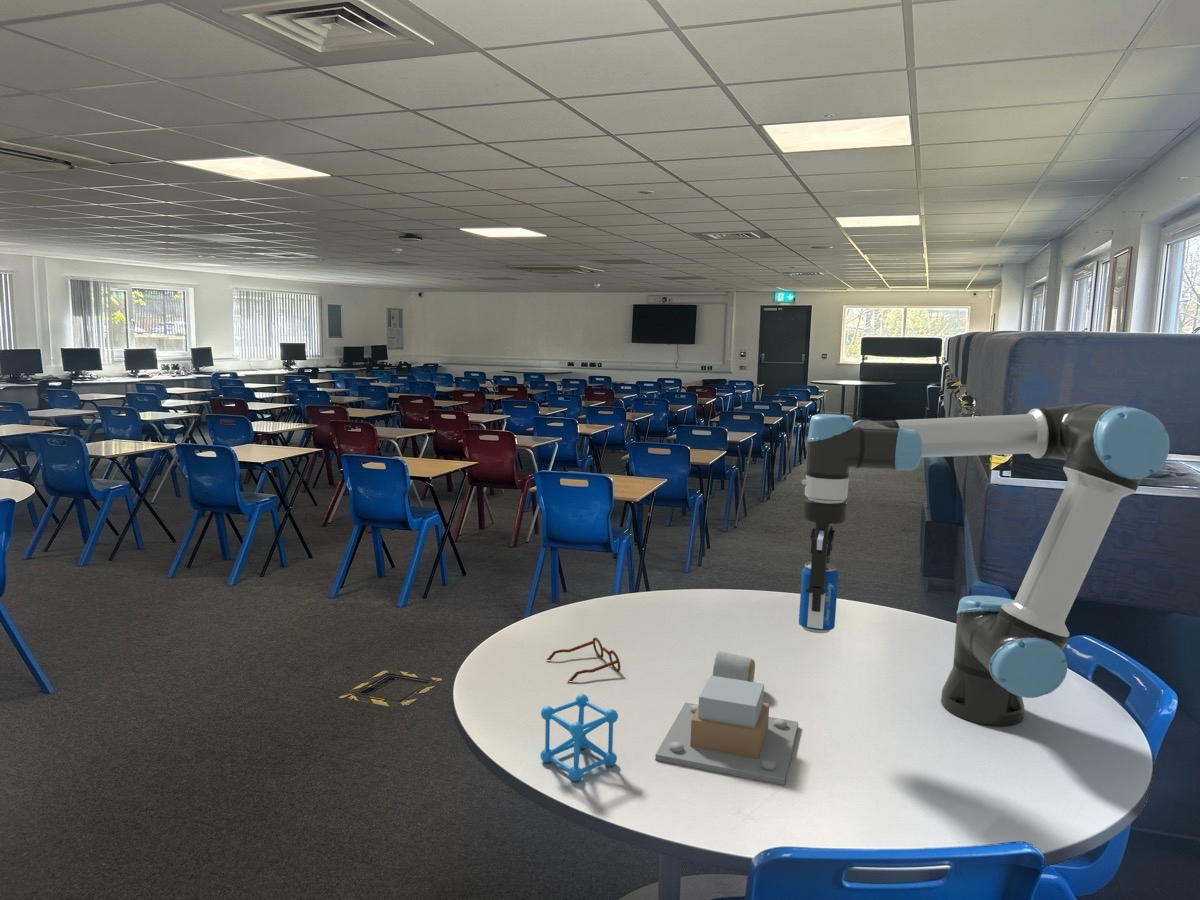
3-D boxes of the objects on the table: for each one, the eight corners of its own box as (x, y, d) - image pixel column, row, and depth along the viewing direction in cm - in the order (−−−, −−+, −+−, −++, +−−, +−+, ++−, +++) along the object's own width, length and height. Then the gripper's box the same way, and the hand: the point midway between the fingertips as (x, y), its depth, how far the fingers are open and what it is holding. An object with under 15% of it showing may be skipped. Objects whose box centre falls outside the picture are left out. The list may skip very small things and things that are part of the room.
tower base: (797, 726, 152) (800, 676, 151) (784, 785, 132) (787, 727, 131) (685, 707, 160) (686, 659, 158) (655, 759, 139) (657, 705, 138)
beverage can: (809, 635, 145) (813, 571, 144) (792, 623, 151) (796, 562, 150) (841, 633, 147) (845, 570, 145) (822, 621, 153) (826, 560, 151)
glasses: (621, 676, 176) (622, 654, 175) (567, 685, 170) (567, 663, 169) (595, 654, 187) (596, 634, 187) (544, 663, 182) (544, 642, 181)
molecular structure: (581, 743, 145) (582, 690, 143) (619, 765, 137) (621, 710, 136) (537, 761, 138) (538, 706, 137) (574, 785, 131) (575, 727, 129)
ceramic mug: (750, 699, 164) (752, 663, 163) (710, 693, 167) (712, 657, 166) (756, 679, 174) (758, 645, 173) (718, 674, 177) (720, 640, 176)
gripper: (809, 489, 156) (801, 603, 159) (798, 506, 138) (789, 635, 141) (849, 492, 154) (840, 608, 157) (843, 510, 136) (834, 641, 139)
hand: (816, 620), depth 149 cm, fingers closed on beverage can, 6 cm apart
